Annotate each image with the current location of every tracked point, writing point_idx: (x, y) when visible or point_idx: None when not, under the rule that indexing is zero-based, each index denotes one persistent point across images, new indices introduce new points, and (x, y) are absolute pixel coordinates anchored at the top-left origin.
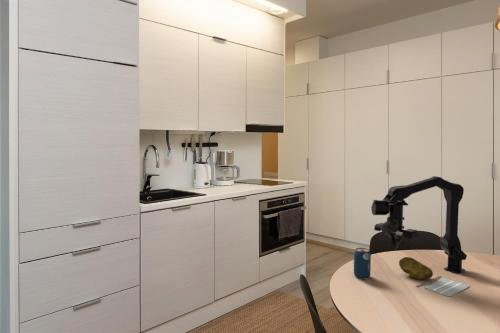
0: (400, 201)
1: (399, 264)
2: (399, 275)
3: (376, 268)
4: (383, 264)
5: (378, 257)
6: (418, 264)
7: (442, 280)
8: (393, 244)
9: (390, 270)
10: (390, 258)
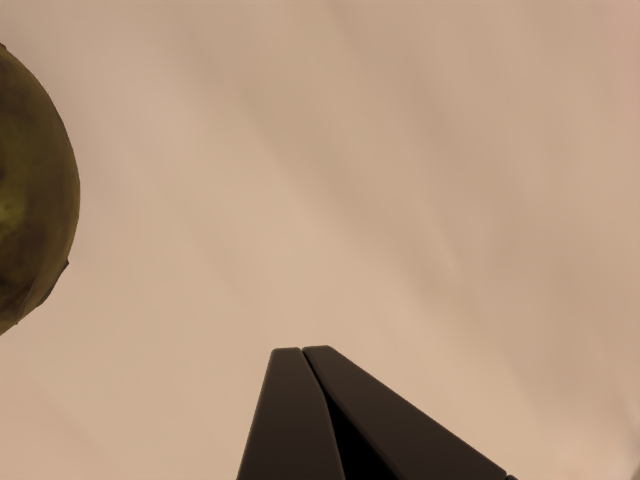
0: None
1: (6, 51)
2: (42, 21)
3: (457, 23)
4: (453, 248)
5: (588, 392)
6: None
7: None
8: (371, 422)
9: (270, 117)
10: None
